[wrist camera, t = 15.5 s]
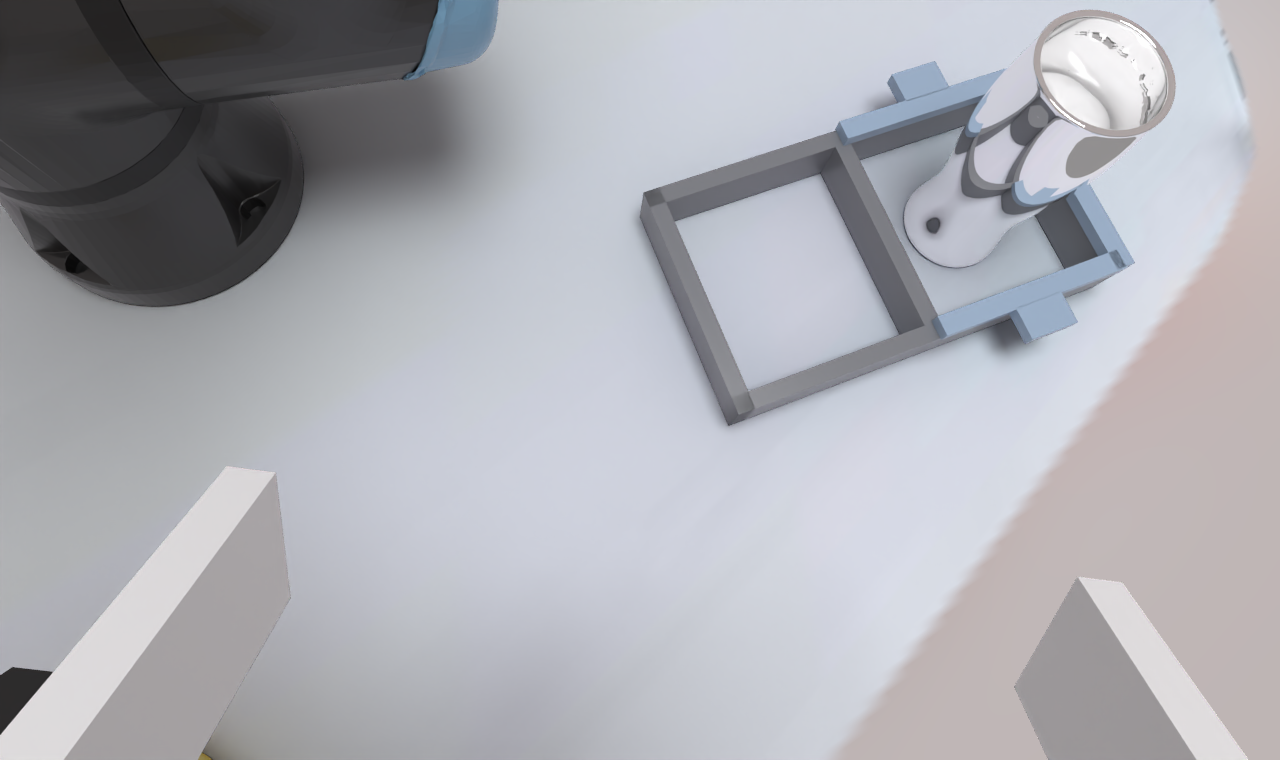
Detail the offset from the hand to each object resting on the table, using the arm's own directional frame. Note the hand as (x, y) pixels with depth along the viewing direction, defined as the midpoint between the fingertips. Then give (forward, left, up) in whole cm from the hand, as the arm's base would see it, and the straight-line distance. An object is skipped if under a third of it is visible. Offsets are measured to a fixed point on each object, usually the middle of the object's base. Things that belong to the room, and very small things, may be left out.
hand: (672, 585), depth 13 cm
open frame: (-13, +22, -30) cm, 39 cm away
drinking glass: (-13, +28, -30) cm, 43 cm away
